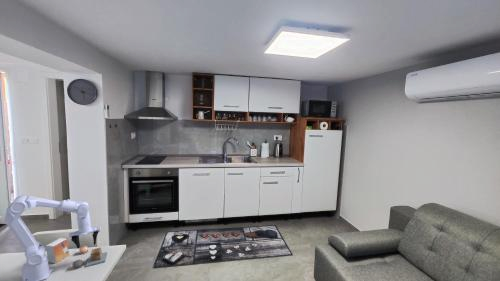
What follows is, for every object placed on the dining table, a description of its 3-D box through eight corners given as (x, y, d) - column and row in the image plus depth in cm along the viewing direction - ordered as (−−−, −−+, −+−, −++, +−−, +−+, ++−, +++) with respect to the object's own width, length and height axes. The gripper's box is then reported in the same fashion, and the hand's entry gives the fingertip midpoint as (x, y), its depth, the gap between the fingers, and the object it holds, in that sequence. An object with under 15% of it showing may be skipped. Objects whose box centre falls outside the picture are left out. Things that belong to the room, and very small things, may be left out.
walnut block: (91, 262, 125) (90, 253, 124) (93, 257, 129) (92, 249, 128) (100, 259, 127) (99, 251, 126) (102, 255, 131) (101, 247, 130)
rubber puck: (72, 270, 120) (71, 265, 120) (74, 265, 124) (73, 260, 123) (81, 267, 122) (80, 263, 121) (83, 263, 125) (82, 258, 125)
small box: (55, 263, 126) (53, 246, 124) (47, 262, 127) (45, 245, 125) (69, 254, 133) (67, 238, 132) (62, 253, 134) (59, 237, 133)
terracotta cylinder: (78, 255, 133) (77, 250, 132) (82, 250, 137) (81, 246, 136) (85, 254, 134) (85, 249, 133) (89, 250, 137) (88, 245, 137)
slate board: (85, 267, 122) (85, 265, 122) (89, 257, 130) (89, 256, 130) (104, 262, 126) (104, 260, 126) (107, 253, 134) (107, 251, 134)
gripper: (65, 229, 118) (69, 253, 120) (98, 223, 124) (100, 246, 126) (69, 223, 124) (72, 246, 126) (100, 218, 130) (102, 239, 132)
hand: (87, 245), depth 126 cm, fingers open, 7 cm apart
